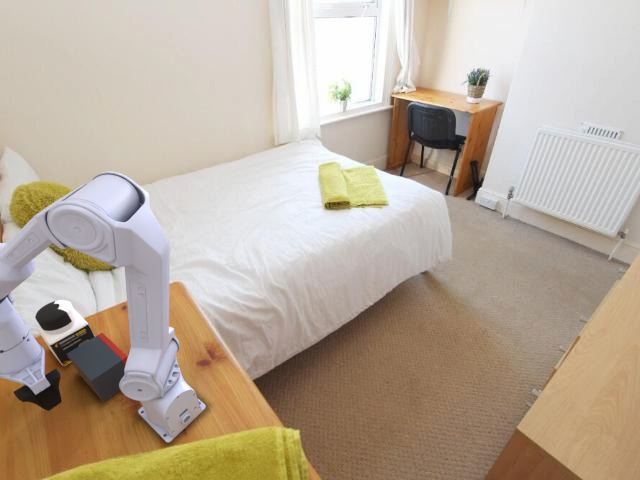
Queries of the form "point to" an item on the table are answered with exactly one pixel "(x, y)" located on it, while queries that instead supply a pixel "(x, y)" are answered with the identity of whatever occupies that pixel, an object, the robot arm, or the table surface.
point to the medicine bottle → (62, 329)
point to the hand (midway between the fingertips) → (45, 393)
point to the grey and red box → (100, 365)
